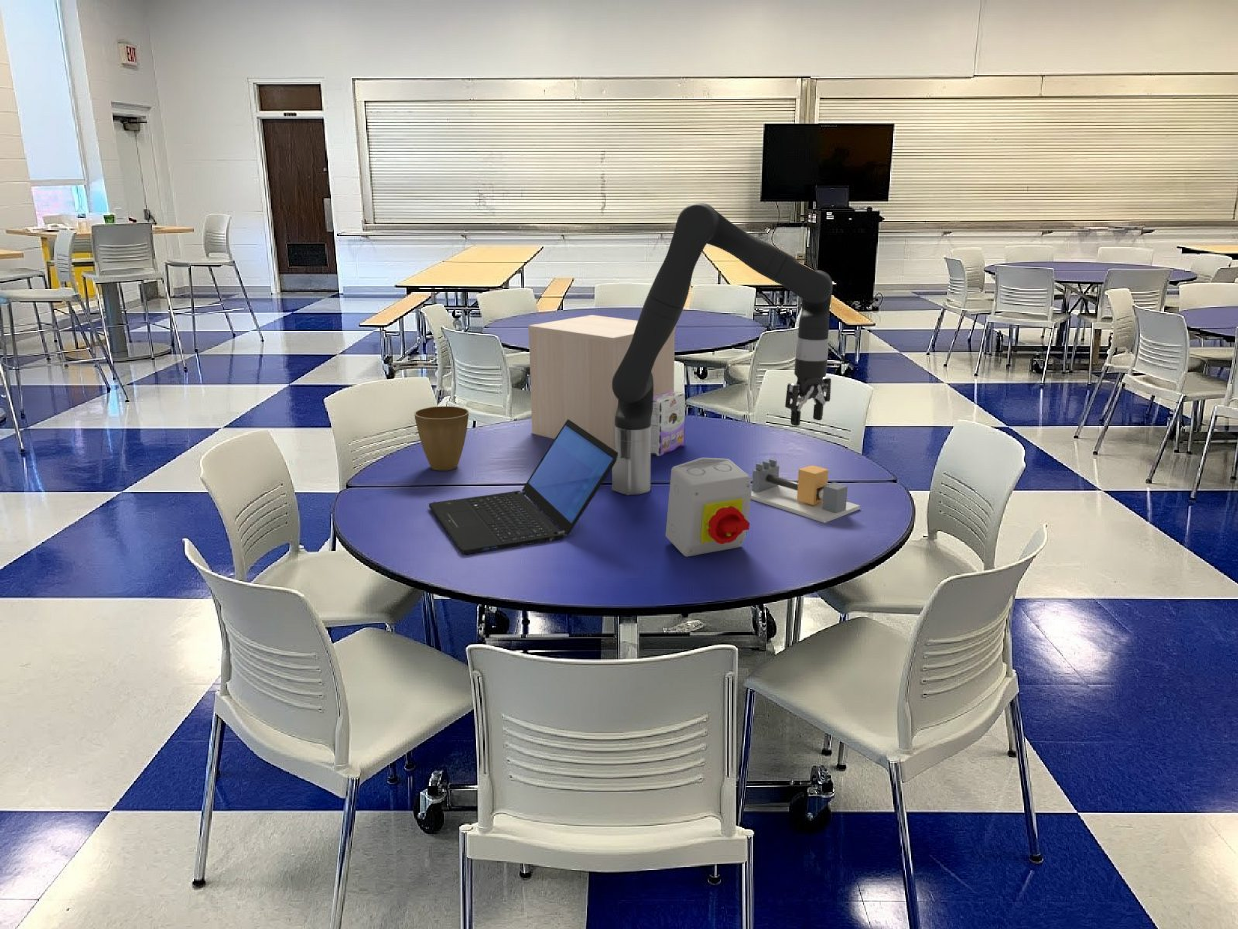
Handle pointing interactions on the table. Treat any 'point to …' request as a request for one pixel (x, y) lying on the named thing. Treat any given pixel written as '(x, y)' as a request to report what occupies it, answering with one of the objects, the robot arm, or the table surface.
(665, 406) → the candy box
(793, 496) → the cord rig
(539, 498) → the laptop
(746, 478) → the electrical switch box
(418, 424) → the plant pot
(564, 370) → the cabinet
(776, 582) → the table surface
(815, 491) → the sleeve
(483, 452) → the table surface
